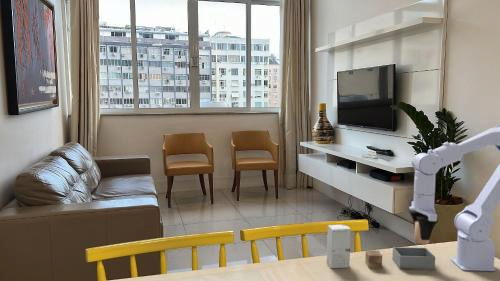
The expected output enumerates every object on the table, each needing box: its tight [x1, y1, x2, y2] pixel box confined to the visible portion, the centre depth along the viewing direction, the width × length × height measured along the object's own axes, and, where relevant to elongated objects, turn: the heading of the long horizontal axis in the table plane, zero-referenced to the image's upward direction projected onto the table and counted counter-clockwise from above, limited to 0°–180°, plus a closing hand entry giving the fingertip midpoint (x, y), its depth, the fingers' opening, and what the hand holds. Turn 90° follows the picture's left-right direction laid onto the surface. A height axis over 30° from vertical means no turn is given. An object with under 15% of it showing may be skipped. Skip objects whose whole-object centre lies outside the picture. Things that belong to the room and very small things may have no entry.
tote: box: [391, 246, 436, 271], centre depth 116 cm, size 10×7×4 cm
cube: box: [364, 249, 383, 269], centre depth 116 cm, size 4×4×4 cm
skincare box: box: [326, 224, 352, 269], centre depth 115 cm, size 6×4×12 cm
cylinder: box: [414, 221, 430, 245], centre depth 115 cm, size 4×4×6 cm
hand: (422, 236), depth 115 cm, fingers closed on cylinder, 4 cm apart
